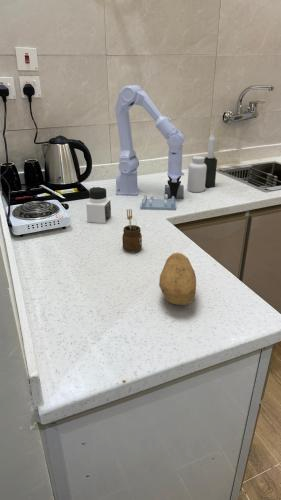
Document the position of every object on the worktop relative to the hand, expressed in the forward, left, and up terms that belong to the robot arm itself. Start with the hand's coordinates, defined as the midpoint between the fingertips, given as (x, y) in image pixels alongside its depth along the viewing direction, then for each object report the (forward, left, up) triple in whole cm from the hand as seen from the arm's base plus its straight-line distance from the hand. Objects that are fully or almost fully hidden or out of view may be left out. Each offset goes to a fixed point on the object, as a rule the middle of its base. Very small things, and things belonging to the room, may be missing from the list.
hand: (173, 194), depth 154 cm
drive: (0, 0, -2) cm, 2 cm away
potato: (+2, -76, -2) cm, 76 cm away
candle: (+16, +18, -2) cm, 24 cm away
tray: (-6, -11, -1) cm, 13 cm away
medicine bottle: (-27, -28, -2) cm, 39 cm away
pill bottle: (+10, +11, -2) cm, 15 cm away
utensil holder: (-12, -51, -2) cm, 52 cm away
